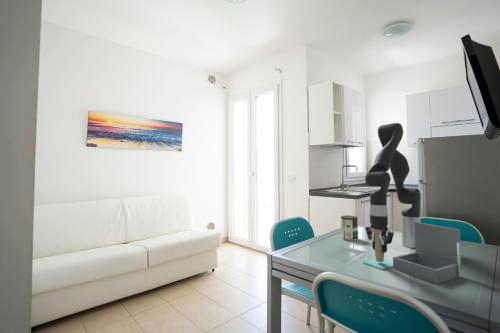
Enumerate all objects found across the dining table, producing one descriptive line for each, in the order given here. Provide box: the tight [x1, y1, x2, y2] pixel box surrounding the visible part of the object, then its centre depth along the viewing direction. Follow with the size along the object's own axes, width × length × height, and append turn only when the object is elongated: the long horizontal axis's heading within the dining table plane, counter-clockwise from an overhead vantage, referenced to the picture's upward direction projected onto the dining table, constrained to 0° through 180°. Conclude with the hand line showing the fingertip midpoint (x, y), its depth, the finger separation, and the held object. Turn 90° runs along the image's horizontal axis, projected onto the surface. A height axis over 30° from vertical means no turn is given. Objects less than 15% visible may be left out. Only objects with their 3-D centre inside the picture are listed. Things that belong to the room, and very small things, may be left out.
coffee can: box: [340, 215, 359, 241], centre depth 168 cm, size 10×10×14 cm
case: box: [392, 222, 462, 284], centre depth 111 cm, size 17×19×19 cm
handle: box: [371, 228, 385, 262], centre depth 121 cm, size 5×6×15 cm
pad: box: [362, 258, 393, 271], centre depth 121 cm, size 10×10×1 cm
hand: (379, 250), depth 121 cm, fingers closed on handle, 4 cm apart
